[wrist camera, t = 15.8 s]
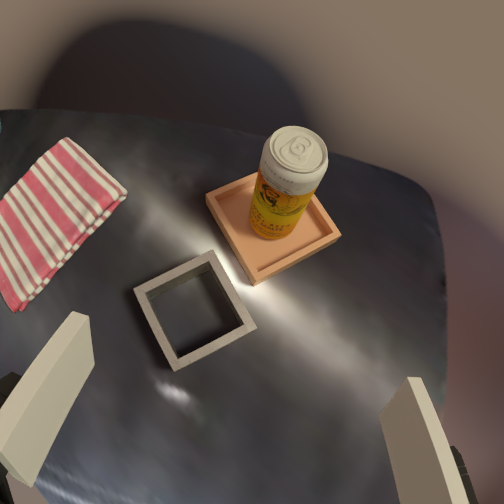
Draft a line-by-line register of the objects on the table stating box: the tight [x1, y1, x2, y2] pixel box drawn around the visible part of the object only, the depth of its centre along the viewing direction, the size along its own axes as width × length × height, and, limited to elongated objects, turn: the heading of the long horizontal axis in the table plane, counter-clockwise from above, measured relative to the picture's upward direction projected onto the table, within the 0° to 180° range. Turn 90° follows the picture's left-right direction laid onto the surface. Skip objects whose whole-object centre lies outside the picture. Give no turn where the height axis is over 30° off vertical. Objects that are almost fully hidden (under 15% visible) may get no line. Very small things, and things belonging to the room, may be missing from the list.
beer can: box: [249, 126, 328, 240], centre depth 34 cm, size 6×6×15 cm
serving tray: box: [206, 172, 341, 287], centre depth 41 cm, size 13×13×2 cm
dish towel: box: [0, 138, 127, 312], centre depth 37 cm, size 17×23×4 cm
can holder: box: [133, 250, 257, 372], centre depth 35 cm, size 10×10×4 cm
